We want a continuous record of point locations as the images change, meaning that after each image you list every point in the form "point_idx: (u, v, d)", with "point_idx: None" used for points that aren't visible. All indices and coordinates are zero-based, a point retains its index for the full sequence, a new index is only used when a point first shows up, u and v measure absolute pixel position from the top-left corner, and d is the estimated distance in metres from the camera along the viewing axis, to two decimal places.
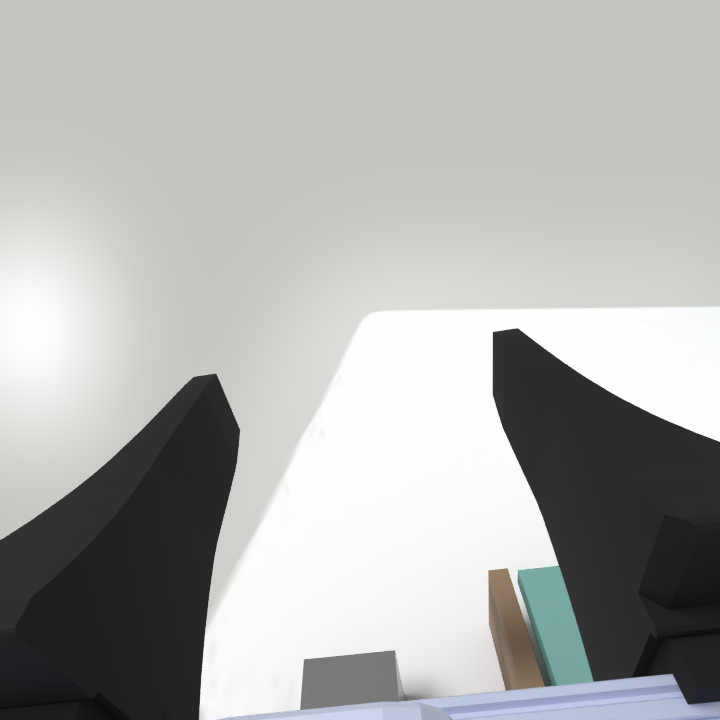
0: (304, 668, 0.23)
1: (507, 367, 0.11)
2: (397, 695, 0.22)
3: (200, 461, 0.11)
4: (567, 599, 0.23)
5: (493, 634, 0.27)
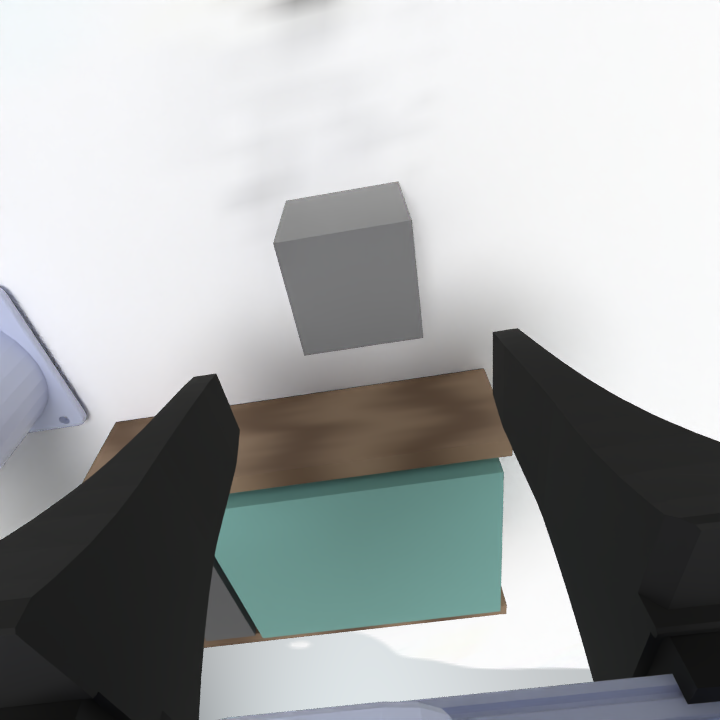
0: (398, 223, 0.15)
1: (507, 367, 0.11)
2: (370, 344, 0.18)
3: (199, 461, 0.11)
4: (463, 504, 0.22)
5: (466, 379, 0.24)
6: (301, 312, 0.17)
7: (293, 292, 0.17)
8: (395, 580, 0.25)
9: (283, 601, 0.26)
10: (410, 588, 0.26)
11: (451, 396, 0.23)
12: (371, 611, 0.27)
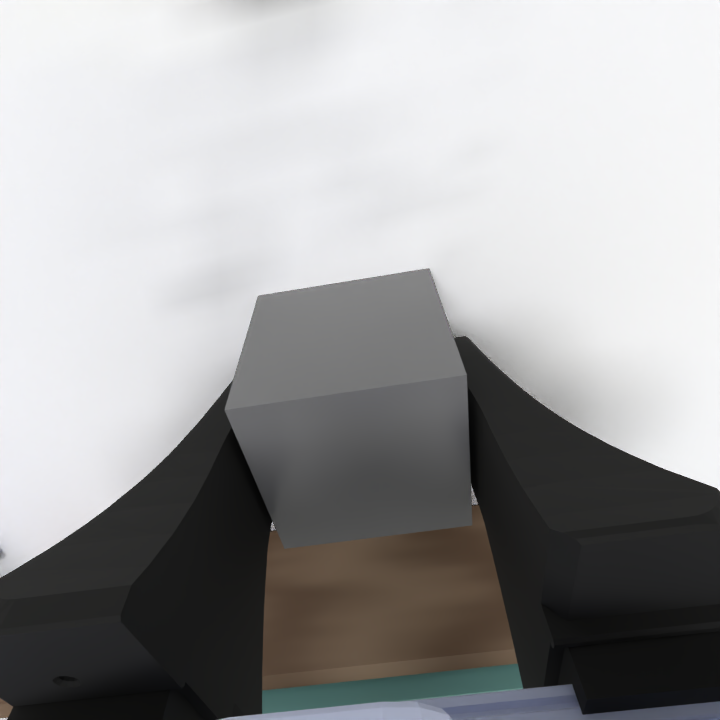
0: (444, 380, 0.09)
1: None
2: (389, 534, 0.11)
3: None
4: None
5: None
6: (277, 499, 0.10)
7: (263, 473, 0.10)
8: None
9: None
10: None
11: None
12: None
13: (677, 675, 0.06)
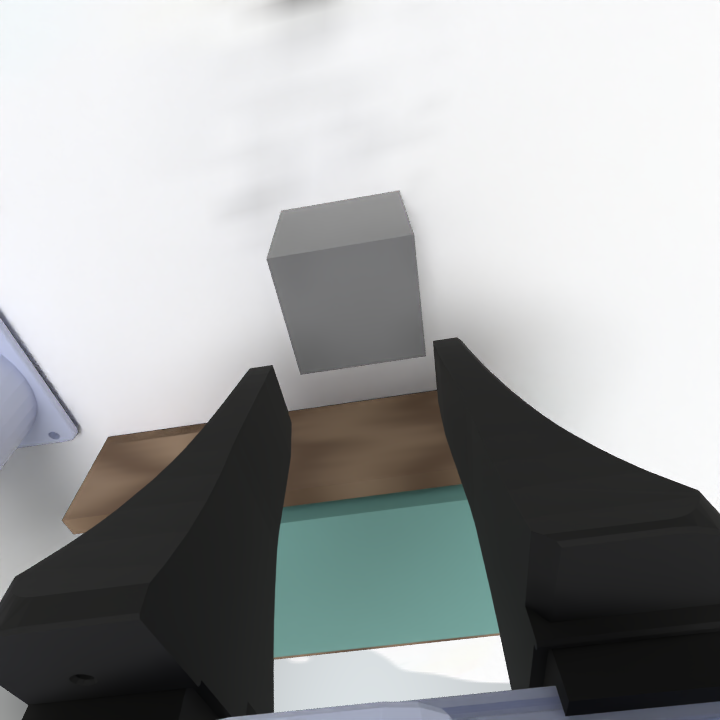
0: (400, 238, 0.14)
1: (442, 376, 0.11)
2: (370, 362, 0.17)
3: (263, 452, 0.11)
4: (469, 526, 0.21)
5: None
6: (297, 330, 0.16)
7: (288, 309, 0.16)
8: (398, 602, 0.24)
9: (282, 622, 0.25)
10: (413, 609, 0.25)
11: None
12: (373, 632, 0.26)
13: (659, 677, 0.06)
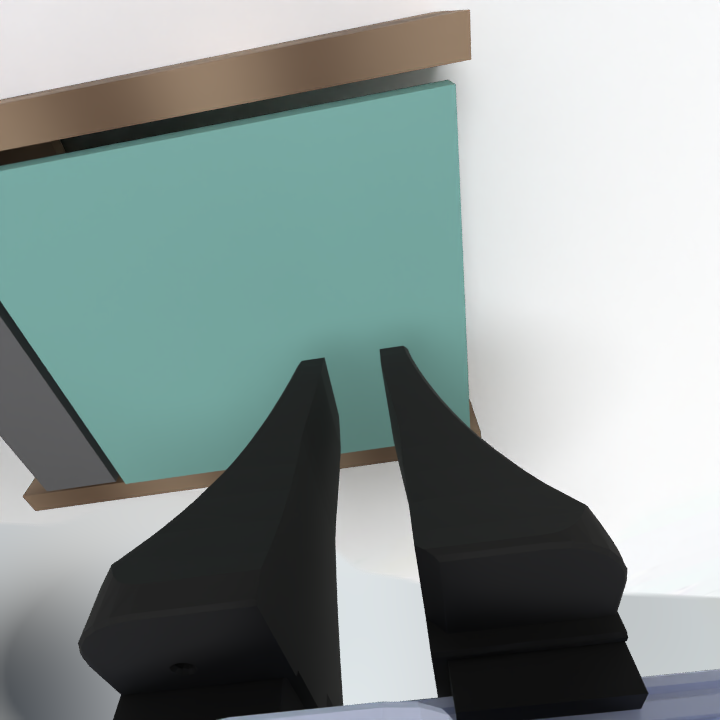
0: None
1: (385, 385, 0.11)
2: None
3: (322, 444, 0.11)
4: (391, 174, 0.13)
5: (406, 18, 0.15)
6: None
7: None
8: None
9: (138, 407, 0.17)
10: None
11: (377, 24, 0.14)
12: None
13: (546, 688, 0.06)
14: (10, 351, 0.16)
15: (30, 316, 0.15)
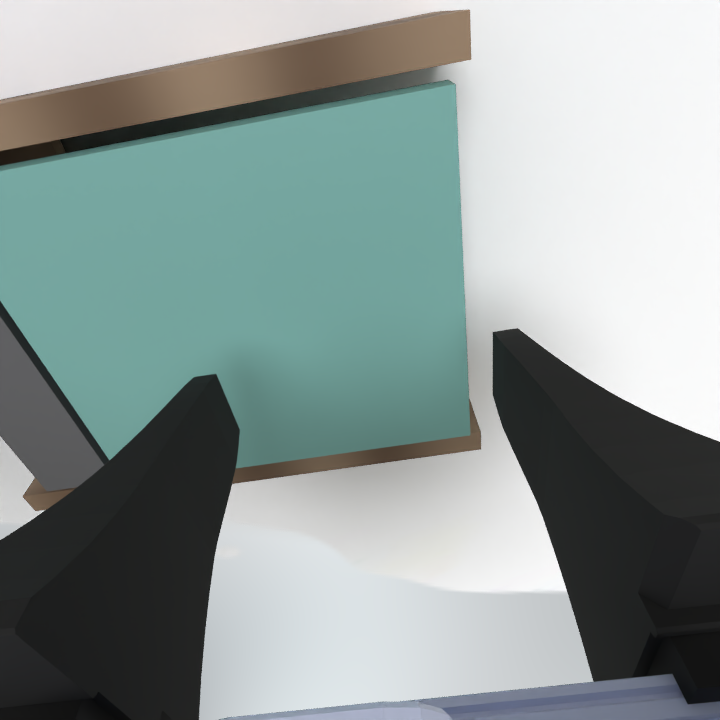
0: None
1: (507, 367, 0.11)
2: None
3: (199, 461, 0.11)
4: (391, 174, 0.13)
5: (406, 18, 0.15)
6: None
7: None
8: (302, 363, 0.16)
9: (137, 407, 0.17)
10: (328, 382, 0.17)
11: (377, 24, 0.14)
12: (276, 432, 0.18)
13: None
14: (10, 351, 0.16)
15: (30, 316, 0.15)
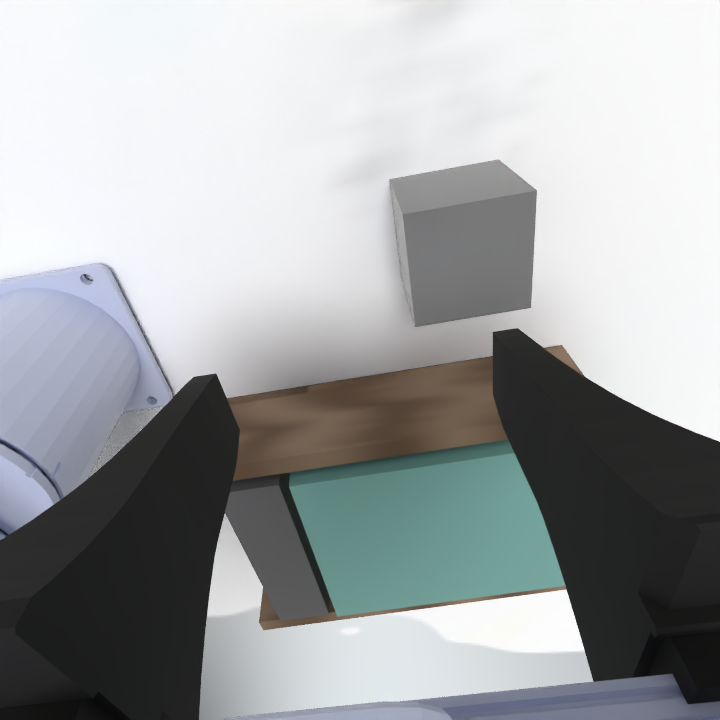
0: (524, 194, 0.16)
1: (507, 367, 0.11)
2: (480, 314, 0.19)
3: (200, 461, 0.11)
4: None
5: None
6: (418, 283, 0.18)
7: (414, 263, 0.17)
8: (475, 554, 0.26)
9: (364, 577, 0.27)
10: (488, 562, 0.26)
11: None
12: (447, 587, 0.28)
13: None
14: (295, 552, 0.25)
15: (320, 538, 0.24)
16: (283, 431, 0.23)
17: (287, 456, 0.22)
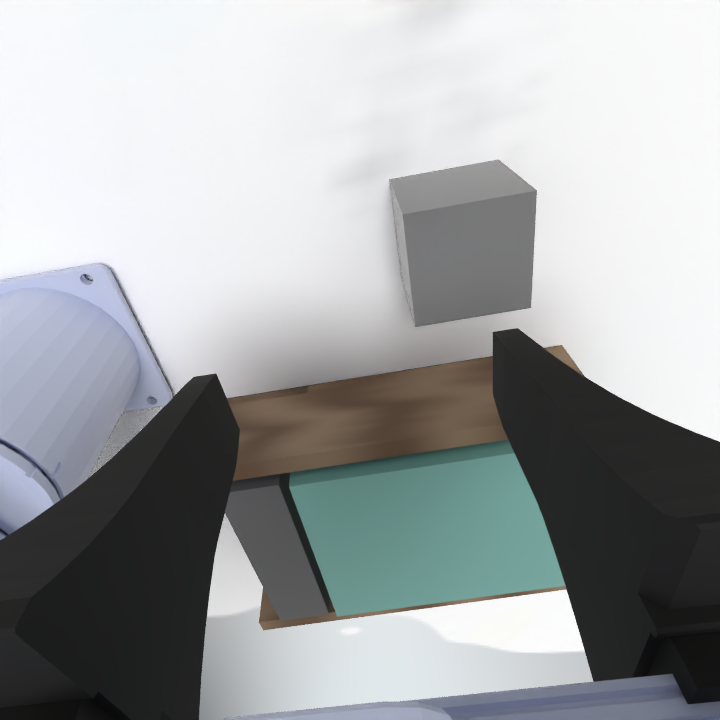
0: (524, 194, 0.16)
1: (507, 367, 0.11)
2: (480, 314, 0.19)
3: (200, 461, 0.11)
4: None
5: None
6: (419, 283, 0.18)
7: (414, 263, 0.17)
8: (475, 554, 0.26)
9: (364, 577, 0.27)
10: (488, 562, 0.26)
11: None
12: (447, 587, 0.28)
13: None
14: (295, 552, 0.25)
15: (320, 538, 0.24)
16: (283, 431, 0.23)
17: (287, 456, 0.22)
